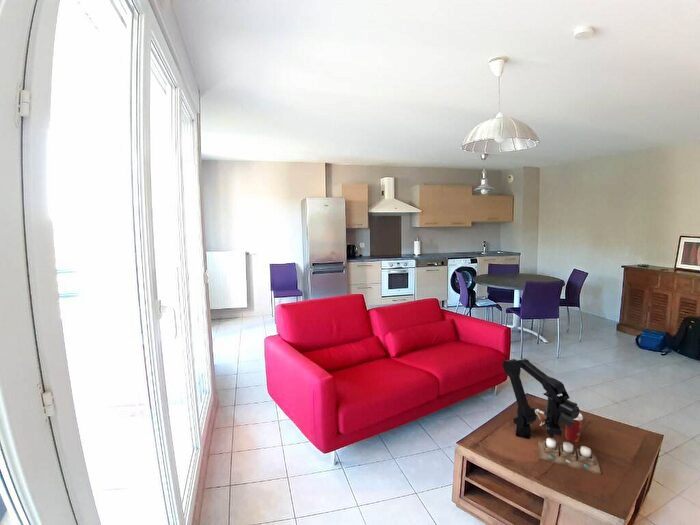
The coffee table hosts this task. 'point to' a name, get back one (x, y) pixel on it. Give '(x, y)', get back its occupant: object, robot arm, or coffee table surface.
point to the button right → (585, 452)
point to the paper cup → (574, 429)
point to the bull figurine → (541, 416)
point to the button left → (550, 443)
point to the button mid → (568, 447)
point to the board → (568, 458)
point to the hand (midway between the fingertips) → (551, 437)
